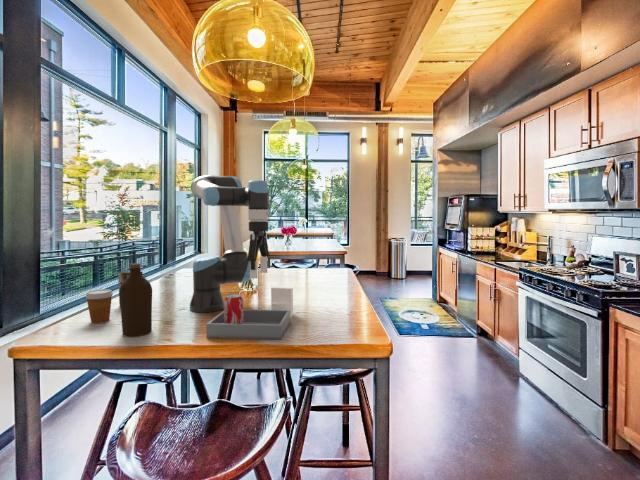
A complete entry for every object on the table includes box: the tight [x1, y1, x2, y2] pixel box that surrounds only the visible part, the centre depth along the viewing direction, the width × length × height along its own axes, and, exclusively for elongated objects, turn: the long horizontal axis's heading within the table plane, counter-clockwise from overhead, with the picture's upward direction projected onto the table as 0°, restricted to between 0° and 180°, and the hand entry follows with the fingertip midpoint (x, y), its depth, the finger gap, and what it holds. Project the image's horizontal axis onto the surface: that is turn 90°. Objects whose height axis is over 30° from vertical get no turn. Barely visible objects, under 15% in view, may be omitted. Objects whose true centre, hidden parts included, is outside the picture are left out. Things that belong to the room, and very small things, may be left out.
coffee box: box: [117, 270, 144, 305], centre depth 173 cm, size 9×6×16 cm
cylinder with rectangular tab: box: [270, 286, 294, 319], centre depth 156 cm, size 9×9×12 cm
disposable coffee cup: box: [84, 288, 114, 324], centre depth 148 cm, size 10×10×12 cm
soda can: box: [223, 293, 245, 324], centre depth 137 cm, size 7×7×12 cm
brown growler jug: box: [118, 262, 153, 338], centre depth 133 cm, size 11×11×25 cm
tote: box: [205, 309, 291, 341], centre depth 137 cm, size 26×20×5 cm
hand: (259, 275), depth 146 cm, fingers open, 13 cm apart
